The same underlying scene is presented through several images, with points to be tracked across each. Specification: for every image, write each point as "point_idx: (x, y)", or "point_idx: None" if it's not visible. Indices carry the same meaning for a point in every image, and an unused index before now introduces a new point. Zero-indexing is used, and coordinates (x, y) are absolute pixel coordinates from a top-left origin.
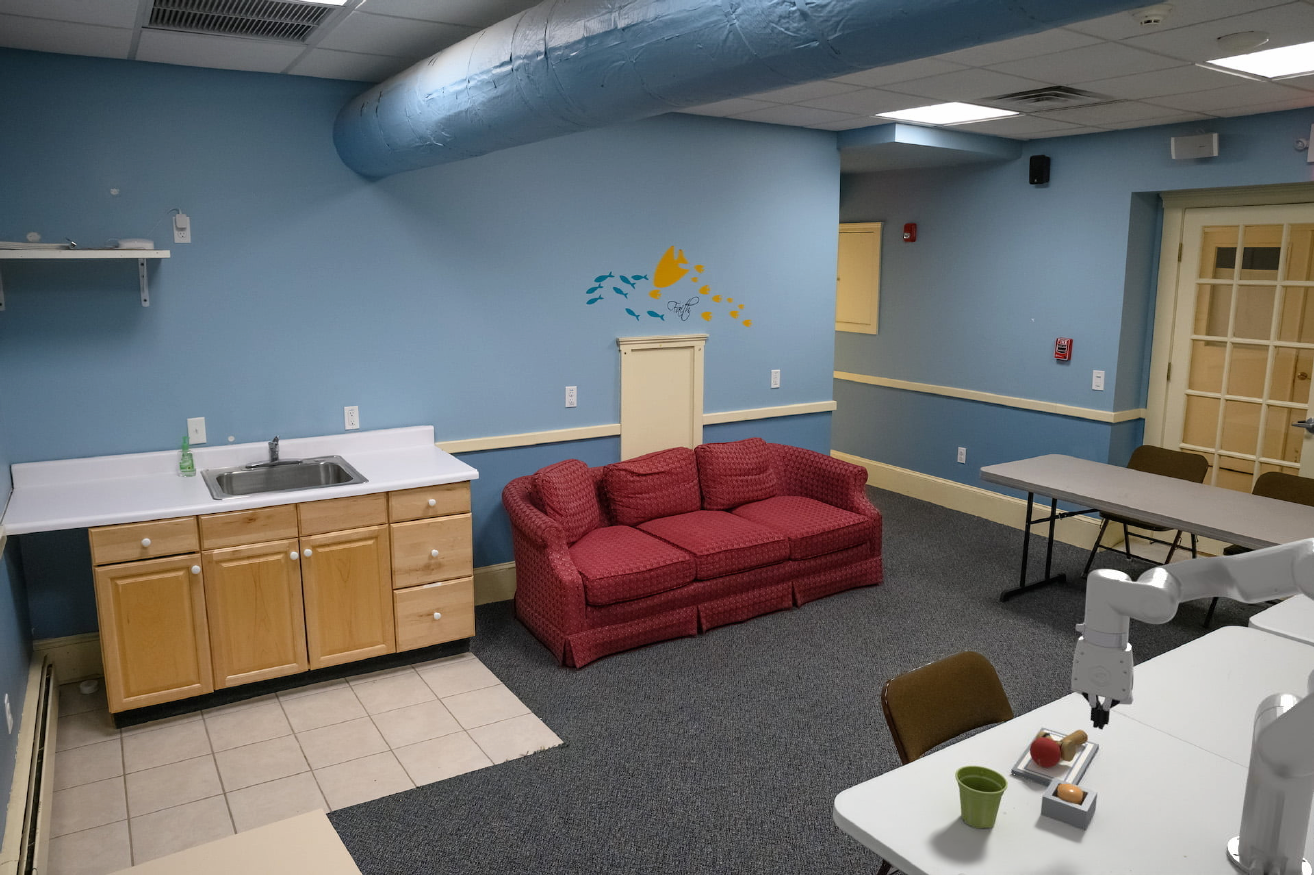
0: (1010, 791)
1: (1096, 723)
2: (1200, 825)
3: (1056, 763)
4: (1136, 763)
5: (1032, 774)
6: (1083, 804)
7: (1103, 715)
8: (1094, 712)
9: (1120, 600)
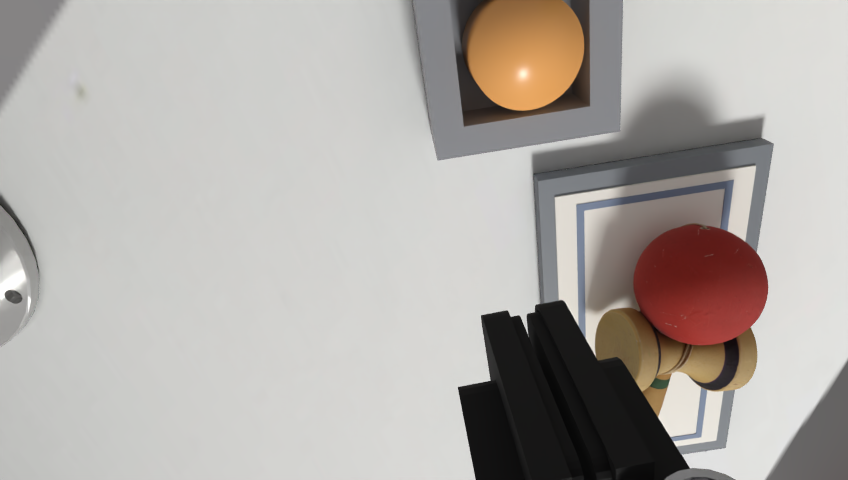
0: (740, 9)
1: (548, 335)
2: (158, 305)
3: (637, 264)
4: (439, 464)
5: (693, 169)
6: (444, 8)
7: (516, 441)
8: (625, 417)
9: None
